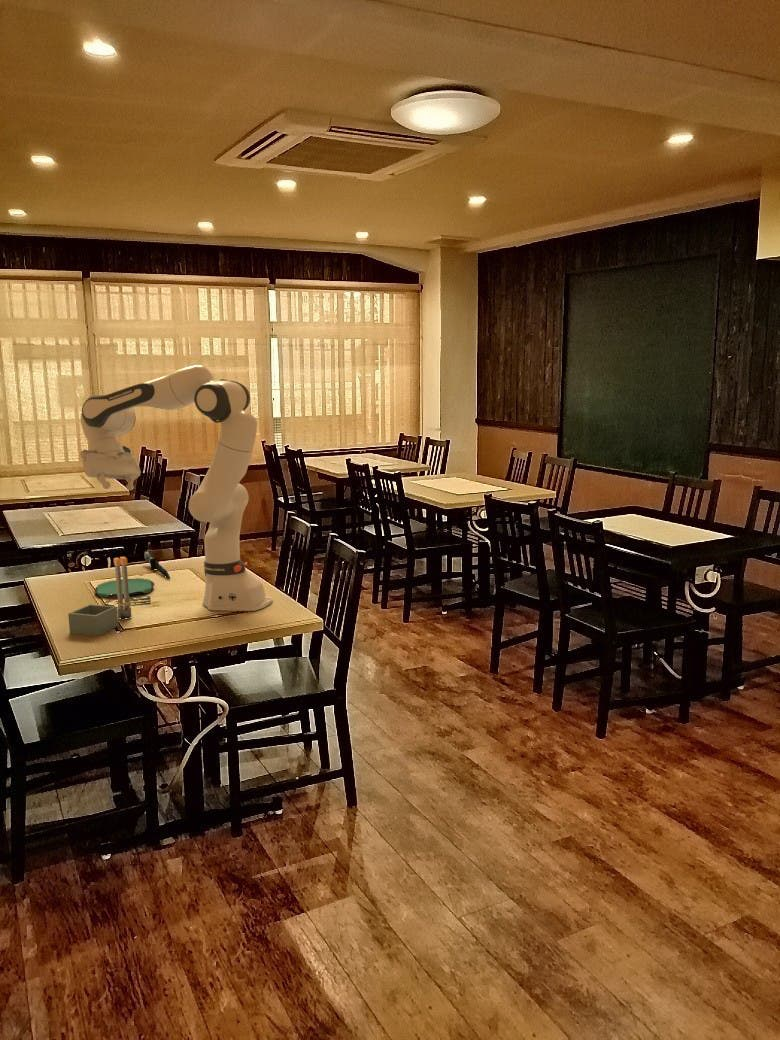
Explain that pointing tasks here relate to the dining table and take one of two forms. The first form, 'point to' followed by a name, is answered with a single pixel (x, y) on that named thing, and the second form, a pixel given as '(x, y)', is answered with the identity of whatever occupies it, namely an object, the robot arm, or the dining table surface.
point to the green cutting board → (133, 585)
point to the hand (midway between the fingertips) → (119, 488)
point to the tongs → (123, 611)
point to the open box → (93, 620)
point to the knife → (155, 564)
